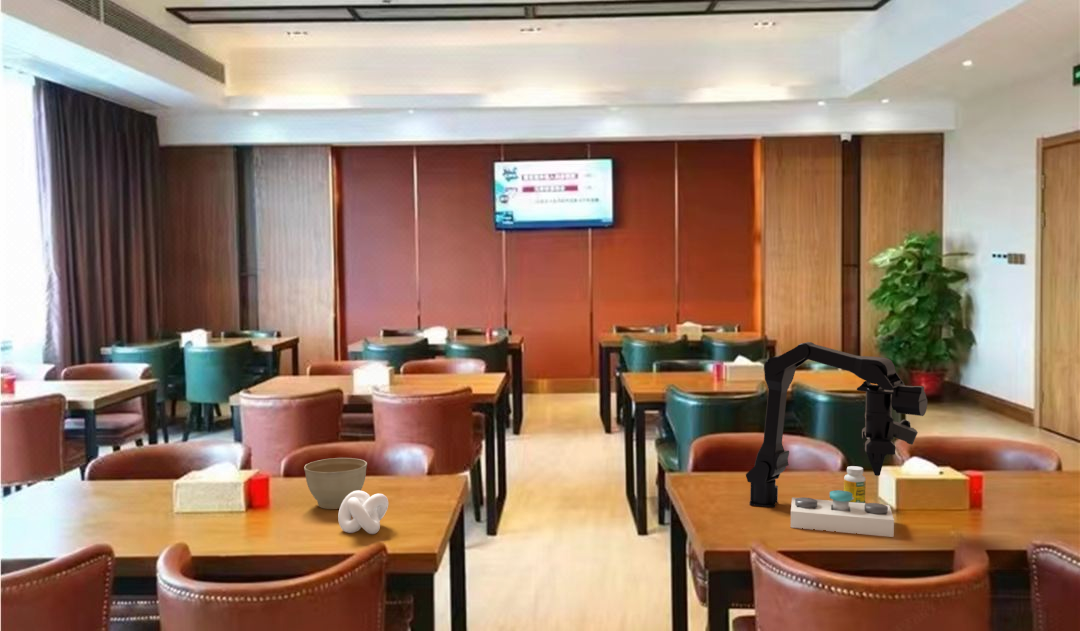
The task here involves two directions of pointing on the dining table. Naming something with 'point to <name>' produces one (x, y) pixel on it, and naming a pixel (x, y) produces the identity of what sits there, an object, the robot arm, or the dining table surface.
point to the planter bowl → (334, 479)
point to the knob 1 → (806, 503)
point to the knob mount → (842, 519)
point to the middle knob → (840, 500)
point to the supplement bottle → (855, 484)
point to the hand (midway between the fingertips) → (877, 475)
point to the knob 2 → (876, 508)
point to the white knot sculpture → (362, 512)
